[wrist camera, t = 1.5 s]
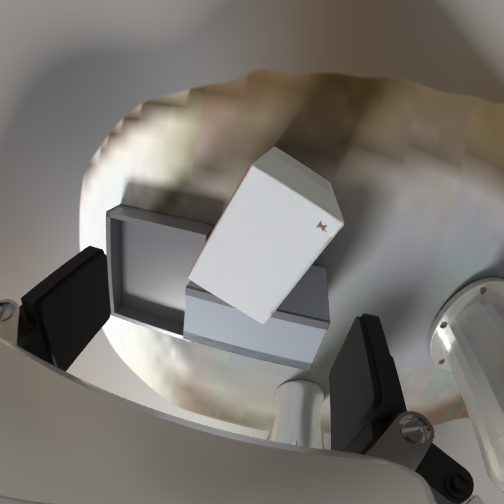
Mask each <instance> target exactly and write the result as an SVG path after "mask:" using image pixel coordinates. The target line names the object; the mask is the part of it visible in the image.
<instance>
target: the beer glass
mask: <svg viewBox="0 0 504 504" xmlns="http://www.w3.org/2000/svg"><path fill="white" fill-rule="evenodd" d="M323 401H324V391H323V390H322V388H321V387H320V386H319V385H317V384H315V383H313V382H310V381H306V380H293V381H289V382H286V383H284V384H282V385H281V386H279V387H278V389H277V390H276V392H275V406H276V413H275V418H274V422H273V425H272V427H271V430H270V432H269V435H268V437H267V440H269V441H275V442H280V443H286V444H292V445H298V446H304V447H311V448H318V449H326V448H325V442H324V437H323V432H322V426H321V408H322V404H323Z"/></svg>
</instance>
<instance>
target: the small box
mask: <svg viewBox="0 0 504 504" xmlns="http://www.w3.org/2000/svg"><path fill="white" fill-rule="evenodd" d="M343 226H344V219H343V216H342V214H341V211H340V208H339V205H338V203H337V200H336V197H335V194H334V191H333V188H332V186H331V183H330V182H329V181H328V180H326V179H324V178H323V177H322V176H320V175H319V174H317V173H316V172H314V171H313V170H311V169H310V168H308V167H307V166H305V165H304V164H302V163H300V162H299V161H297V160H296V159H294V158H293V157H291V156H290V155H288V154H286V153H285V152H283V151H282V150H280V149H278V148H277V147H273V148H271V149H270V150H269V151H267V152H266V153H265V154H264V155H262V156H261V157H260V158H259V159H258V160H256V161H255V162H254V163H252V164H251V165H250V167H249V169H248V170H247V172H246V174H245V175H244V177H243V179H242V180H241V182H240V184H239V186H238V187H237V189H236V191H235V192H234V194H233V196H232V197H231V199H230V201H229V202H228V204H227V206H226V208H225V209H224V211H223V213H222V215H221V216H220V218H219V220H218V221H217V223H216V225H215V227H214V228H213V230H212V232H211V234H210V236H209V237H208V239H207V241H206V243H205V245H204V247H203V248H202V250H201V252H200V254H199V256H198V257H197V259H196V261H195V263H194V265H193V267H192V268H191V270H190V272H189V274H188V276H187V278H188V279H190V280H191V281H193V282H194V283H196V284H197V285H199V286H201V287H202V288H204V289H205V290H207V291H209V292H210V293H212V294H214V295H215V296H217V297H218V298H220V299H222V300H223V301H225V302H227V303H228V304H230V305H232V306H233V307H235V308H237V309H238V310H240V311H242V312H243V313H245V314H247V315H248V316H250V317H252V318H253V319H255V320H257V321H258V322H260V323H262V324H266V323H267V321H268V320H269V319H270V317H271V316H272V314H273V313H274V312H275V310H276V309H277V308H278V306H279V305H280V304H281V303H282V301H283V300H284V299H285V298H286V296H287V295H288V294H289V293H290V291H291V290H292V289H293V288H294V286H295V285H296V284H297V282H298V281H299V280H300V279H301V277H302V276H303V275H304V274H305V272H306V271H307V270H308V269H309V267H310V266H311V265H312V264H313V262H314V261H315V260H316V258H317V257H318V256H319V254H320V253H321V252H322V251H323V250H324V248H325V247H326V246H327V245H328V243H329V242H330V241H331V240H332V239H333V238H334V236H335V235H336V234H337V233H338V232H339V230H340V229H341V228H342V227H343Z"/></svg>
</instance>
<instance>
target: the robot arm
mask: <svg viewBox="0 0 504 504" xmlns="http://www.w3.org/2000/svg"><path fill="white" fill-rule="evenodd" d="M21 301H22V305H21V306H20V307H19V305H18V304H17V303H16V302H15V301H13V300H10V299H4V300H0V504H484V503H483V501H482V500H481V499H480V497H479V496H478V495H475V496H473V494H472V492H473V485H474V483H473V479H472V477H471V475H470V473H469V472H468V471H467V470H466V469H465V468H463V467H462V466H461V465H460V464H458V463H457V462H456V461H455V460H453V459H452V458H451V457H449V456H448V455H447V454H446V453H444V452H443V451H442V450H441V449H439V448H438V447H437V446H436V445H434V444H433V443H432V442H433V439H434V429H433V426H432V424H431V422H430V421H429V420H428V419H427V418H426V417H425V416H424V415H422V414H420V413H418V412H414V411H407V410H406V406H405V401H404V397H403V393H402V389H401V385H400V381H399V378H398V374H397V370H396V367H395V363H394V359H393V357H392V356H391V355H390V353H389V349H388V346H387V342H386V339H385V335H384V332H383V329H382V325H381V322H380V319H379V317H378V316H374V315H369V314H362V315H361V317H358V316H357V317H356V318H355V320H354V322H353V325H352V327H351V329H350V331H349V333H348V336H347V338H346V340H345V342H344V344H343V346H342V348H341V350H340V352H339V354H338V356H337V358H336V360H335V362H334V364H333V366H332V368H331V371H330V376H329V381H330V408H331V450H326V449H318V448H311V447H304V446H298V445H292V444H286V443H280V442H275V441H269V440H263V439H259V438H254V437H249V436H245V435H240V434H236V433H232V432H228V431H224V430H220V429H216V428H212V427H208V426H205V425H201V424H198V423H194V422H191V421H187V420H184V419H181V418H178V417H175V416H172V415H169V414H166V413H163V412H160V411H157V410H154V409H151V408H148V407H146V406H143V405H140V404H138V403H135V402H132V401H130V400H127V399H125V398H122V397H120V396H117V395H115V394H113V393H110V392H108V391H106V390H103V389H101V388H99V387H96V386H94V385H92V384H90V383H88V382H85V381H83V380H81V379H79V378H77V377H75V376H73V375H71V374H69V373H67V372H66V371H67V369H68V368H69V367H70V365H71V364H72V363H73V362H74V360H75V359H76V358H77V357H78V355H79V354H80V353H81V352H82V351H83V349H84V348H85V347H86V346H87V344H88V343H89V342H90V341H91V339H92V338H93V337H94V336H95V335H96V333H97V332H98V331H99V330H100V329H101V328H102V326H103V325H104V324H105V323H106V322H107V320H108V319H109V317H110V314H111V306H110V295H109V282H108V266H107V256H106V255H105V254H104V251H103V250H102V249H99V248H95V247H92V246H88V247H87V248H85V249H84V250H83V251H81V252H80V253H78V254H77V255H76V256H74V257H73V258H72V259H70V260H69V261H68V262H66V263H65V264H64V265H62V266H61V267H60V268H58V269H57V270H56V271H54V272H53V273H52V274H50V275H49V276H48V277H47V278H45V279H44V280H43V281H42V282H40V283H39V284H38V285H37V286H35V287H34V288H33V289H32V290H30V291H29V292H28V293H27V294H25V295H24V296H23V297H22V298H21ZM428 347H429V351H430V355H431V357H432V359H433V362H434V363H435V364H436V366H438V367H439V368H440V369H442V370H444V371H447V372H453V375H454V377H455V380H456V382H457V385H458V387H459V390H460V392H461V395H462V398H463V400H464V403H465V406H466V408H467V411H468V414H469V417H470V420H471V423H472V426H473V429H474V432H475V434H476V438H477V441H478V445H479V448H480V451H481V455H482V458H483V461H484V465H485V469H486V472H487V475H488V477H489V479H490V481H491V482H492V484H493V485H494V486H495V487H496V488H498V489H499V490H501V491H503V492H504V279H501V278H493V277H490V278H485V279H481V280H478V281H476V282H473V283H471V284H469V285H468V286H466V287H464V288H463V289H462V290H460V291H459V292H458V293H456V294H455V295H454V296H453V297H452V298H451V299H450V300H449V301H448V302H447V303H446V304H445V306H444V307H443V308H442V310H441V311H440V312H439V314H438V316H437V317H436V319H435V321H434V323H433V325H432V328H431V330H430V335H429V344H428Z"/></svg>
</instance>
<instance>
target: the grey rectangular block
mask: <svg viewBox="0 0 504 504" xmlns="http://www.w3.org/2000/svg"><path fill="white" fill-rule="evenodd" d="M185 295H186V304H185V317H184V331H183V339H186V340H190V341H193V342H196V343H200V344H203V345H207V346H210V347H214V348H217V349H221V350H225V351H228V352H232V353H236V354H240V355H243V356H247V357H251V358H255V359H260V360H264V361H268V362H272V363H277V364H281V365H286V366H290V367H295V368H300V369H304V370H309V369H310V366H311V364H312V362H313V360H314V357H315V355H316V353H317V351H318V348H319V346H320V344H321V341H322V339H323V336H324V334H325V332H326V330H328V327H329V325H330V314H329V301H328V289H327V278H326V268H323V267H319V266H315V265H311V266H310V267H309V269H308V270H307V271H306V272H305V274H304V275H303V276H302V277H301V279H300V280H299V281H298V282H297V284H296V285H295V286H294V288H293V289H292V290H291V291H290V293H289V294H288V295H287V296H286V298H285V299H284V300H283V301H282V303H281V304H280V305H279V306H278V308H277V309H276V310H275V312H274V313H273V314H272V316H271V317H270V319H269V320H268V321H267V323H266V324H262V323H260V322H258V321H257V320H255V319H253V318H252V317H250V316H248V315H247V314H245V313H243V312H242V311H240V310H238V309H237V308H235V307H233V306H232V305H230V304H228V303H227V302H225V301H223V300H222V299H220V298H218V297H217V296H215V295H214V294H212V293H210V292H209V291H207V290H205V289H204V288H202V287H201V286H199V285H197V284H196V283H194V282H193V281H191V280H190V282H189V283H188V285H187V286H186V288H185Z"/></svg>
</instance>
